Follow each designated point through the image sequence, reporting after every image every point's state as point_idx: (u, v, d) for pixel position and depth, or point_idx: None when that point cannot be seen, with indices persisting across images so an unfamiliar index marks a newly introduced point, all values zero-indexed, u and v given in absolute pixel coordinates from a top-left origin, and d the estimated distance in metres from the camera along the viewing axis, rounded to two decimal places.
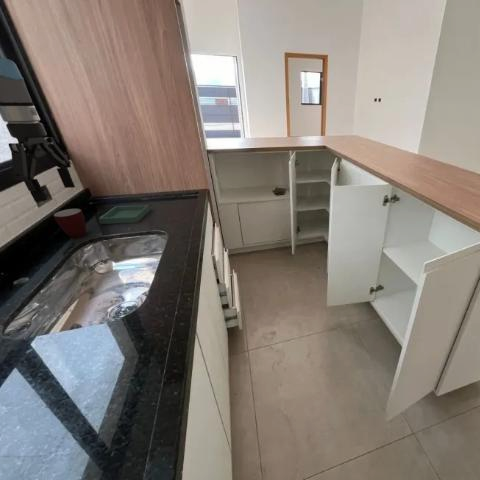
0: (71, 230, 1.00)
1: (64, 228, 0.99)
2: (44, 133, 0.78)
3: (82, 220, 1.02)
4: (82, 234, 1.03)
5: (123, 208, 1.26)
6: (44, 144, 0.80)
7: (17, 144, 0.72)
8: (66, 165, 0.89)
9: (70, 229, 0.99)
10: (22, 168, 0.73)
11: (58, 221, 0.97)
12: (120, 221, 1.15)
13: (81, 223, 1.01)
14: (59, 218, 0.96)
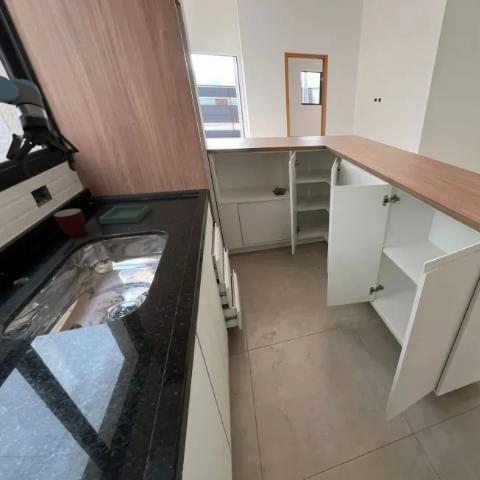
0: (71, 230, 1.00)
1: (64, 228, 0.99)
2: None
3: (82, 220, 1.02)
4: (82, 234, 1.03)
5: (123, 208, 1.26)
6: None
7: (61, 132, 1.01)
8: None
9: (70, 229, 0.99)
10: None
11: (58, 221, 0.97)
12: (120, 221, 1.15)
13: (81, 223, 1.01)
14: (59, 218, 0.96)
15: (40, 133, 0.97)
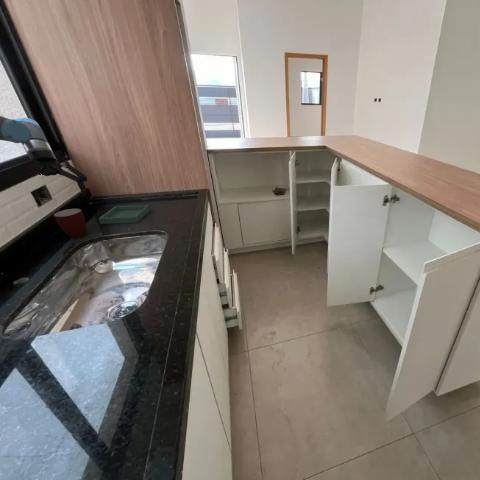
0: (71, 230, 1.00)
1: (64, 228, 0.99)
2: None
3: (82, 220, 1.02)
4: (82, 234, 1.03)
5: (123, 208, 1.26)
6: None
7: None
8: None
9: (70, 229, 0.99)
10: None
11: (58, 221, 0.97)
12: (120, 221, 1.15)
13: (81, 223, 1.01)
14: (59, 218, 0.96)
15: (51, 164, 1.05)
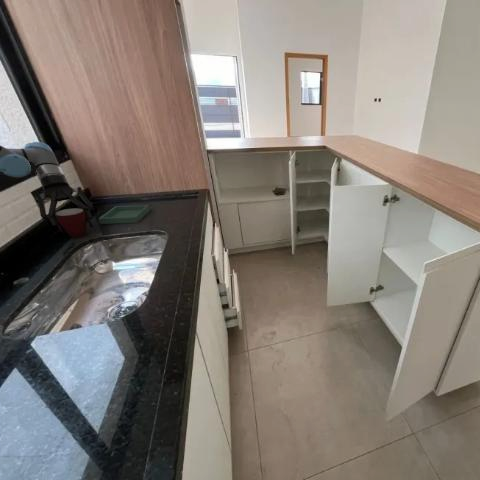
0: (72, 229, 1.00)
1: (65, 227, 0.99)
2: None
3: (83, 220, 1.02)
4: (82, 234, 1.03)
5: (123, 208, 1.26)
6: None
7: None
8: None
9: (71, 228, 0.99)
10: None
11: (59, 220, 0.97)
12: (120, 221, 1.15)
13: (83, 223, 1.02)
14: (61, 217, 0.96)
15: (63, 190, 1.02)
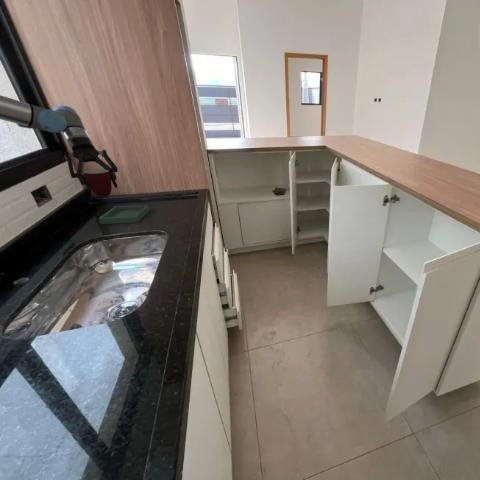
0: (98, 188, 1.05)
1: (92, 185, 1.04)
2: None
3: (109, 180, 1.08)
4: (108, 193, 1.09)
5: (123, 208, 1.26)
6: None
7: None
8: None
9: (98, 187, 1.05)
10: None
11: (88, 178, 1.03)
12: (120, 221, 1.15)
13: (108, 182, 1.07)
14: (89, 175, 1.02)
15: (89, 151, 1.08)
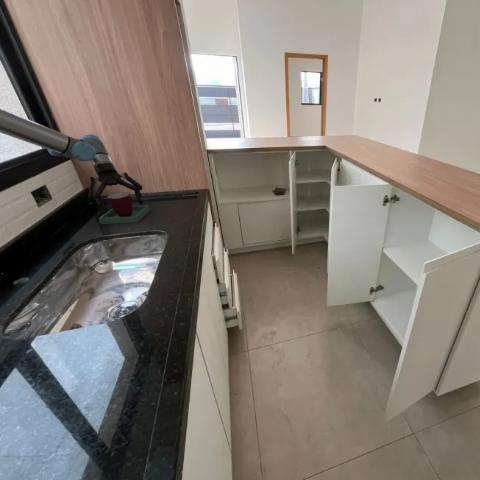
0: (121, 210, 1.16)
1: (116, 209, 1.15)
2: None
3: (130, 202, 1.18)
4: (129, 215, 1.19)
5: None
6: None
7: None
8: None
9: (121, 210, 1.15)
10: None
11: (111, 202, 1.13)
12: (120, 221, 1.15)
13: (129, 204, 1.17)
14: (113, 200, 1.12)
15: (113, 176, 1.18)
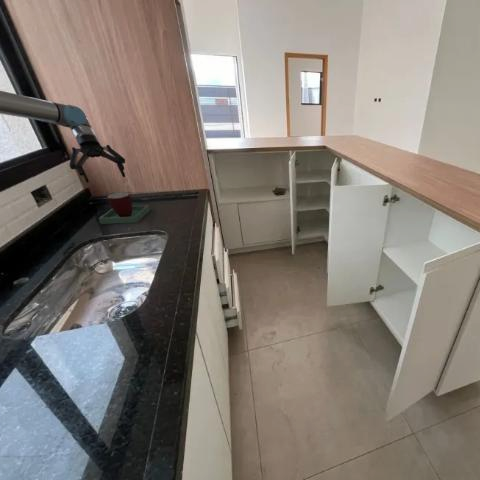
0: (121, 210, 1.16)
1: (116, 209, 1.15)
2: None
3: (130, 202, 1.18)
4: (129, 215, 1.19)
5: None
6: None
7: None
8: None
9: (121, 210, 1.15)
10: None
11: (111, 202, 1.13)
12: (120, 221, 1.15)
13: (129, 204, 1.17)
14: (113, 200, 1.12)
15: (95, 147, 1.19)
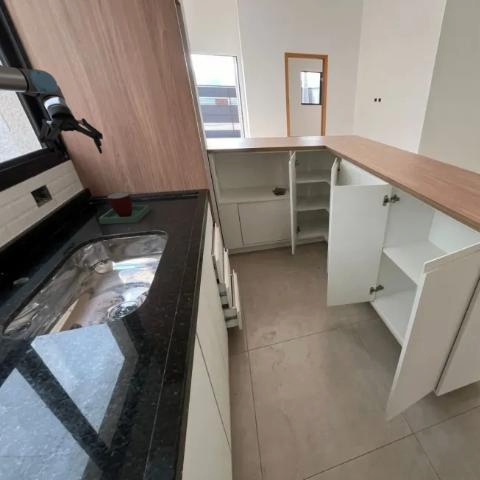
0: (121, 210, 1.16)
1: (116, 209, 1.15)
2: None
3: (130, 202, 1.18)
4: (129, 215, 1.19)
5: None
6: None
7: None
8: None
9: (121, 210, 1.15)
10: None
11: (111, 202, 1.13)
12: (120, 221, 1.15)
13: (129, 204, 1.17)
14: (113, 200, 1.12)
15: (69, 120, 1.10)
